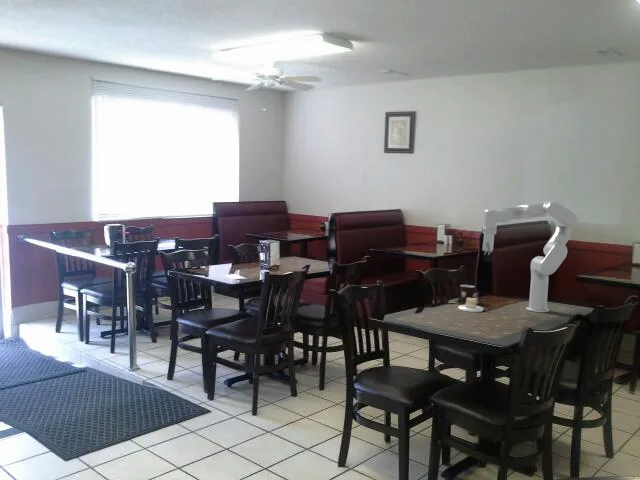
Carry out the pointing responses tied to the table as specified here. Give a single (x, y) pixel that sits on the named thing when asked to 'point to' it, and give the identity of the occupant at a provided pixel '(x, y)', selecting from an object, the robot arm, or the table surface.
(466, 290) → the coffee mug
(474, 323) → the table surface
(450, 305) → the table surface
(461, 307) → the ceramic dish
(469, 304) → the maple block
